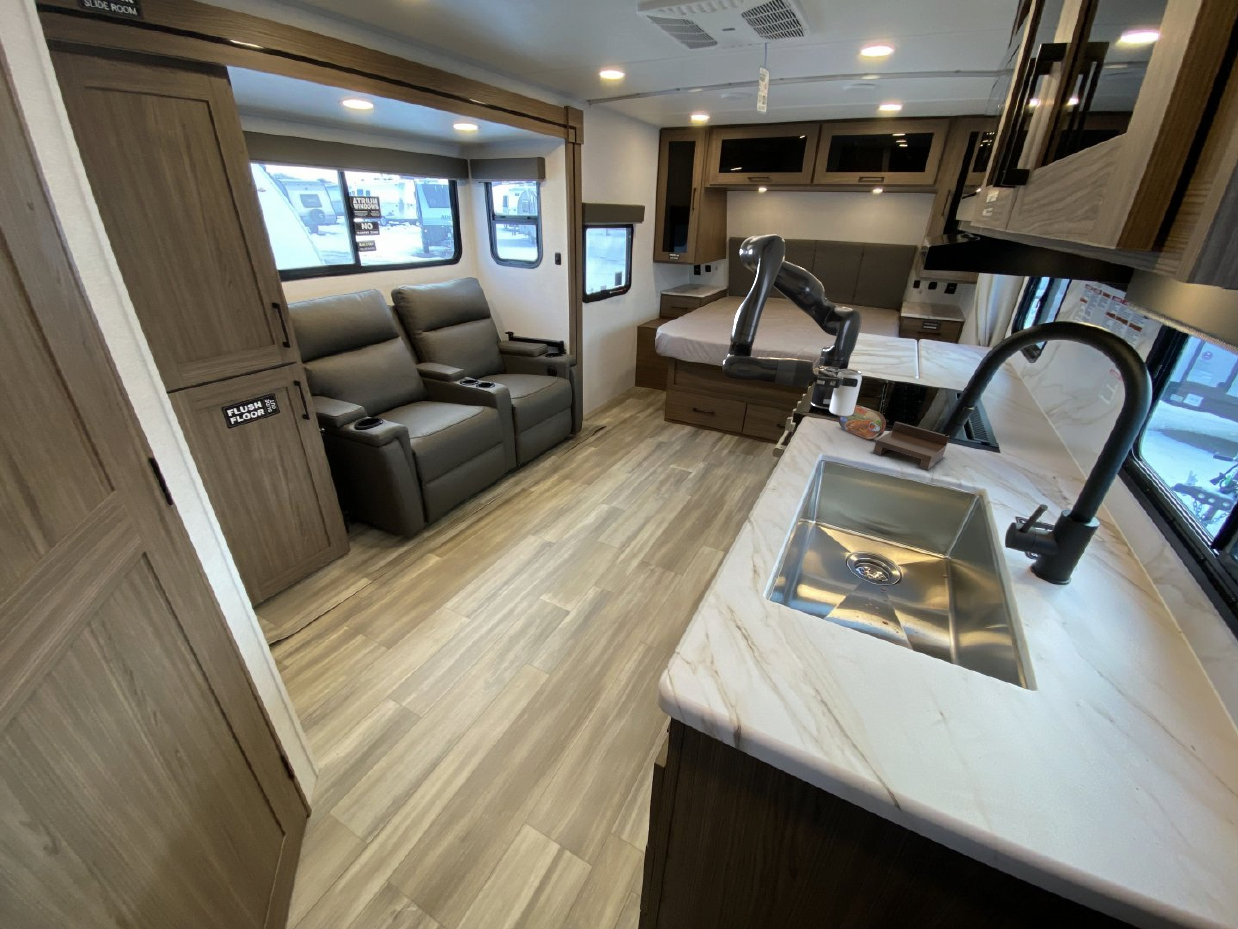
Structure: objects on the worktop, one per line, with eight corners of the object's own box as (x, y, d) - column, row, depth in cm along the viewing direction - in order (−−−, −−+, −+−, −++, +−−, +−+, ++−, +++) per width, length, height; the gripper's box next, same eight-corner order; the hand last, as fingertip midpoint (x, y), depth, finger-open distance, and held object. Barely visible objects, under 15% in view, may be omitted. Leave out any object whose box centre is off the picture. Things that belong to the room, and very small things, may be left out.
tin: (834, 426, 155) (840, 400, 152) (841, 424, 157) (847, 399, 153) (876, 443, 144) (883, 416, 140) (883, 442, 145) (891, 415, 141)
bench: (890, 442, 145) (895, 421, 142) (942, 457, 136) (950, 436, 133) (872, 453, 138) (878, 431, 135) (927, 470, 128) (934, 447, 126)
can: (848, 409, 143) (858, 369, 138) (856, 417, 138) (866, 375, 132) (826, 407, 144) (835, 367, 139) (832, 416, 138) (842, 374, 133)
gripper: (794, 365, 133) (861, 373, 128) (796, 353, 145) (857, 359, 140) (790, 392, 136) (855, 400, 131) (792, 378, 148) (851, 385, 144)
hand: (856, 379), depth 136 cm, fingers closed on can, 6 cm apart
